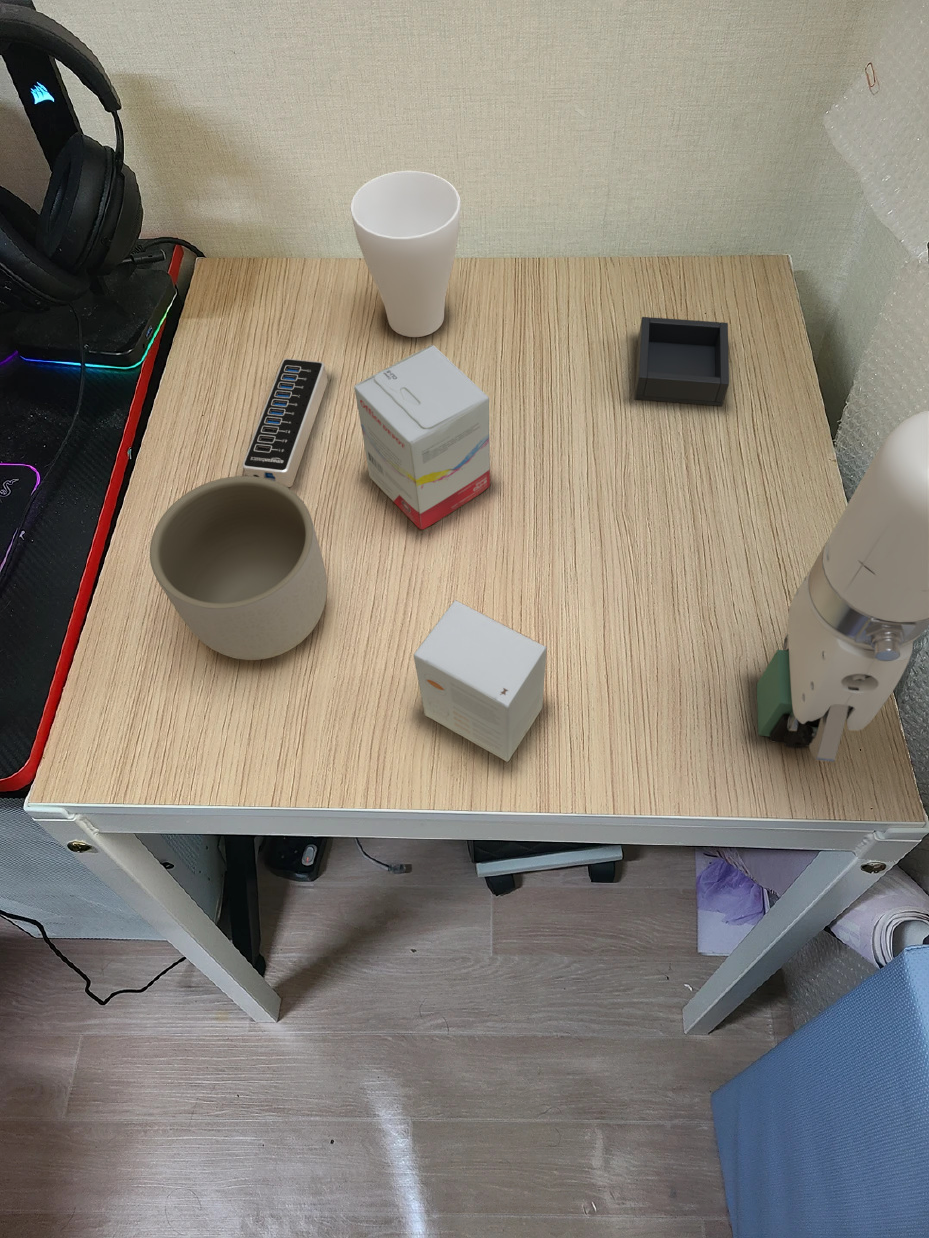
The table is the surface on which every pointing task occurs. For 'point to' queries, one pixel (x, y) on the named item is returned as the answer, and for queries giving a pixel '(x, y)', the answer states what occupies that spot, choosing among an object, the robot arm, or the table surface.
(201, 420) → the table surface
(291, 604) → the planter
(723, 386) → the socket
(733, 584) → the table surface
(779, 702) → the pad block
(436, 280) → the cup
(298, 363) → the multiport hub
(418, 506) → the ink box
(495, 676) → the small box
